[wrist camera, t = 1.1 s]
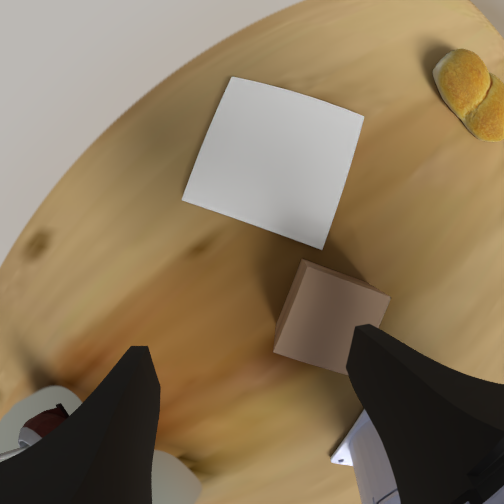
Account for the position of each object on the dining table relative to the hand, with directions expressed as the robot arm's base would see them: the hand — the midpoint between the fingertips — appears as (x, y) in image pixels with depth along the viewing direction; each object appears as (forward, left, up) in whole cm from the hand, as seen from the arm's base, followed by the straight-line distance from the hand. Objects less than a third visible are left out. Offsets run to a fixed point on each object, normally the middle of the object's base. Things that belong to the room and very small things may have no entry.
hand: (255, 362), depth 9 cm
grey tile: (+3, -9, -10) cm, 14 cm away
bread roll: (-12, -22, -11) cm, 27 cm away
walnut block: (-4, -1, -11) cm, 11 cm away
